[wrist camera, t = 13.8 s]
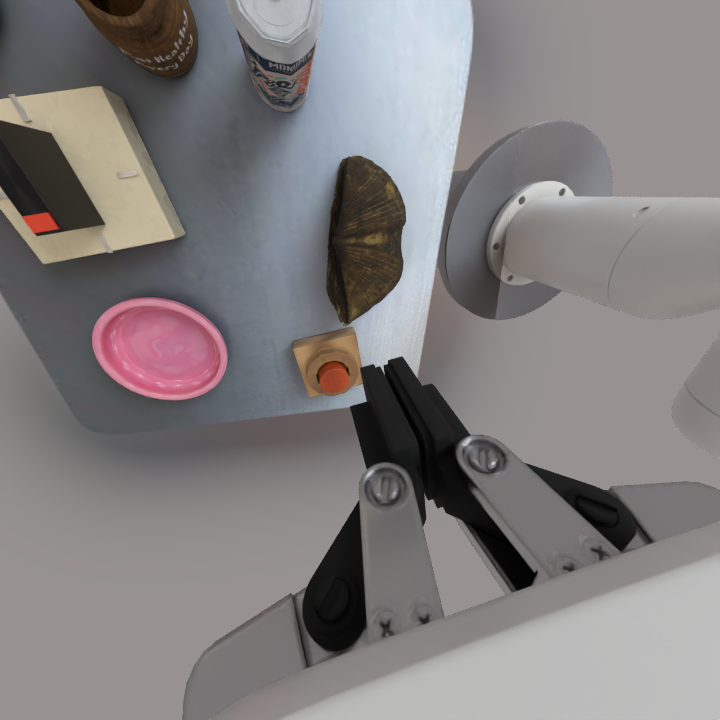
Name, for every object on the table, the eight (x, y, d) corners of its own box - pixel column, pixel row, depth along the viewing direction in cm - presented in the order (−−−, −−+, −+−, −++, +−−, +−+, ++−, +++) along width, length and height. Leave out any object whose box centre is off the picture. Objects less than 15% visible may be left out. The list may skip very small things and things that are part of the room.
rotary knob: (23, 136, 19) (-54, 119, 15) (51, 132, 19) (-18, 115, 15) (83, 228, 23) (33, 237, 18) (106, 224, 23) (62, 232, 18)
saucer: (104, 275, 27) (84, 284, 24) (238, 307, 31) (233, 318, 29) (111, 376, 32) (95, 393, 30) (224, 392, 37) (219, 407, 34)
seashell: (315, 149, 25) (345, 137, 20) (397, 164, 29) (440, 158, 24) (314, 316, 33) (335, 340, 28) (378, 311, 37) (407, 331, 32)
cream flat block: (121, 95, 21) (98, 82, 19) (186, 235, 27) (175, 240, 24) (-34, 117, 20) (-83, 106, 18) (67, 258, 26) (42, 266, 23)
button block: (352, 326, 36) (358, 340, 33) (361, 374, 40) (367, 391, 37) (292, 341, 35) (292, 356, 32) (308, 388, 39) (310, 406, 36)
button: (343, 358, 34) (346, 365, 32) (348, 380, 36) (351, 388, 34) (315, 365, 34) (316, 373, 32) (322, 387, 35) (323, 396, 34)
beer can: (252, 108, 23) (225, 44, 13) (246, 25, 21) (206, -129, 11) (309, 117, 24) (323, 65, 14) (309, 40, 22) (326, -88, 12)
